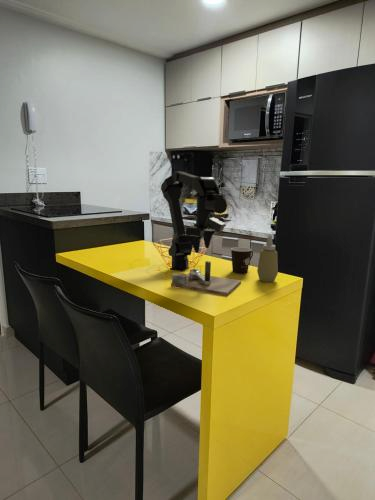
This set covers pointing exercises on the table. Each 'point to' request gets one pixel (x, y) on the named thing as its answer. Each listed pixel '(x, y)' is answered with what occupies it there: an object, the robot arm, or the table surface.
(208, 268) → the lever
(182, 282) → the base
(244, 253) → the coffee mug
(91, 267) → the table surface
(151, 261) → the table surface
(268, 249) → the squeeze bottle
